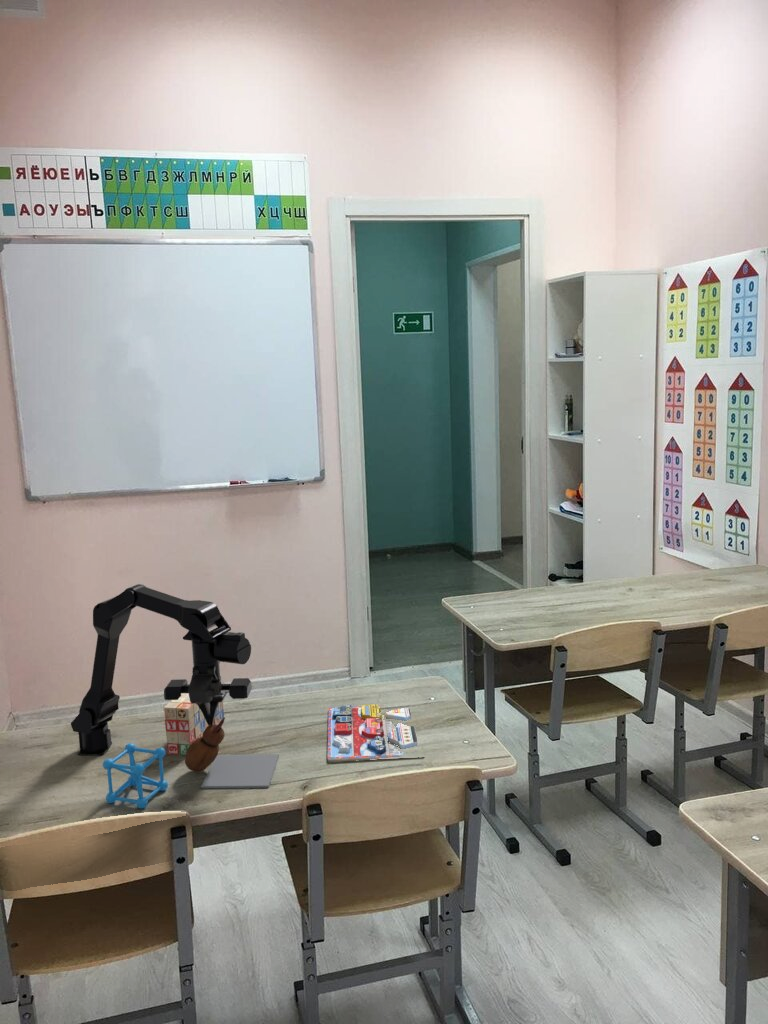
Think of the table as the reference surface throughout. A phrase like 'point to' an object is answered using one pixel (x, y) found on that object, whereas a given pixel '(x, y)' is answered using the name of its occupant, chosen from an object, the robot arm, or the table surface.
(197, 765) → the wooden figurine
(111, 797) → the molecular structure
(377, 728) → the puzzle board
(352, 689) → the table surface
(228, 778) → the felt mat
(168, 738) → the stack of blocks
